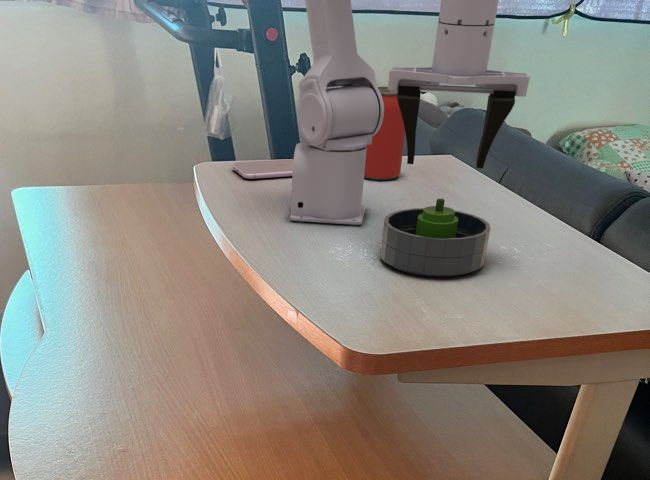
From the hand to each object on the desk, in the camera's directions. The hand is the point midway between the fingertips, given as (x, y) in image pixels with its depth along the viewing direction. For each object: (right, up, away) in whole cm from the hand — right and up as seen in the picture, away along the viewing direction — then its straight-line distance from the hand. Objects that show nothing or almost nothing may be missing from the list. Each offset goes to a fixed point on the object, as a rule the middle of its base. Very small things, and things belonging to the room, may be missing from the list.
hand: (444, 164), depth 93 cm
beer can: (-2, +14, +36) cm, 39 cm away
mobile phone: (-17, +16, +37) cm, 44 cm away
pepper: (0, -9, +4) cm, 10 cm away
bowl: (-1, -10, +4) cm, 11 cm away
